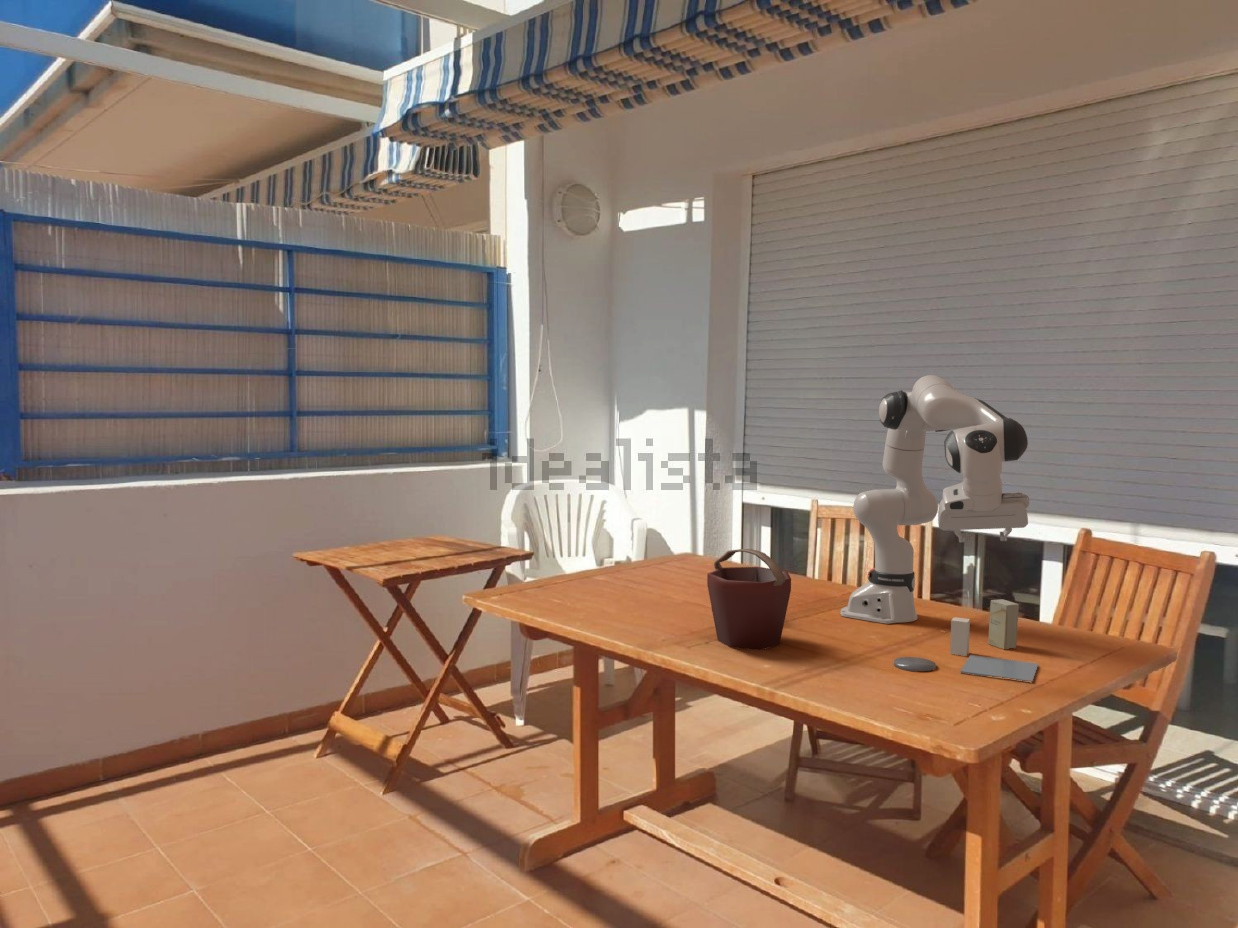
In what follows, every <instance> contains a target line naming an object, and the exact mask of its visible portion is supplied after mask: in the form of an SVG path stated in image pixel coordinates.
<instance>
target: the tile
mask: <svg viewBox="0 0 1238 928" xmlns="http://www.w3.org/2000/svg"><path fill="white" fill-rule="evenodd" d="M1037 667H1038V668H1039V663H1037V662H1028V661H1020V660H1015V659H1014V660H1013V659H1006V658H998V657H993V656H992V657H991V656H990V657H989V656H985V655H984V656H983V655H982V656H981V655H975V654H970V655H969V657H968V658H967V660H966V661H965V663H964V665H963V666H962V668H961V669H960V671H959V672H961V673H966V674H965V675H968V673H969V674H974V675H973V676H975V675H981V676H980V677H982V676H992V677H1002V678H1010V679H1016V680H1022V681H1031V682H1032V681H1033V682H1034V680H1033V679H1035V677H1036V674H1037V671H1038V668H1037ZM1036 670H1037V671H1036ZM961 673H960V674H961ZM1035 673H1036V674H1035ZM1034 676H1035V677H1034Z"/></svg>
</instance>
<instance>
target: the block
mask: <svg viewBox="0 0 1238 928" xmlns="http://www.w3.org/2000/svg"><path fill="white" fill-rule="evenodd" d="M970 624H971V618H964V617H956V616H955V617H954V616H953V617H952V619H951V621H950V650H949V653H950V654H955V655H954V656H958V655H961V656H960V657H965V656H966V657H968V655H969V653H970V630H971V627H970V626H971V625H970ZM950 654H949V655H950ZM967 654H968V655H967Z"/></svg>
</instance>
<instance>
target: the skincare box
mask: <svg viewBox="0 0 1238 928" xmlns="http://www.w3.org/2000/svg"><path fill="white" fill-rule="evenodd" d="M989 605H990V606H989V609H990V610H989V625H988V639H987V643H988V645H991V646H993V647H995V648H999V649H1001V648H1003V649H1002V650H1004V649H1005V650H1010V649H1009V648H1014V649H1017V642H1018V641H1017V640H1018V639H1017V638H1018V627H1019V626H1018V625H1019V609H1020V604H1019V603H1016V602H1013V601H1010V600H1006V599H1001V598H999V599H991V600H990V604H989Z"/></svg>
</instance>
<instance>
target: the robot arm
mask: <svg viewBox="0 0 1238 928" xmlns="http://www.w3.org/2000/svg"><path fill="white" fill-rule="evenodd" d="M878 416H879V421H880V423H881V425H882V426H883V427H884V428H886V429H887V432H886V433H887V434H886V438H885V441H884V442H885V444H884V451H883V458H882V469H883V471H884V472H885V474H886V475H887V476H889V477H890V478H892V479H894V480H895V481H896V487H895V488H881V489H880V488H879V489H878V488H877V489H876V488H875V489H872V490H866V491H862V492H860V493H858V495H856V497H855V499H854V502H853V514H854V516H855V518H856V520H857V521H858V522H859V523H860V524H861V525H863V527H864V528H866V529H867V530H868V531H867V532H868V533H869V534H870V536H871V538H872V540H873V547H874V559H875V560H874V564H875V565H874V567H872V568H871V569H870V570H869V571H868V572H867V579H868V580H867V581H866V582H865V583H863V584H862V585H860V587H857V589H855V590H854V591H853V592H852V593H850V596H849V598H848V603H847V605H846V606H844V607H842V608H841V609H840V616H841V617H843V618H844V617H845V618H850V619H855V620H856V619H857V620H863V621H868V622H874V623H881V624H889V625H890V624H897V623H910V622H914V621H917V620H918V614H917V611H916V605H915V597H914V596H915V594H914V591H915V588H916V587H915V586H916V577H915V576H916V575H915V572H914V559H915V558H914V553H915V550H914V546H913V545H912V543H911V542H910V541H909V540H907V539H906V538H903V537H901V536H900V535H899V532H898V531H899V530H898V526H918V525H922V524H926V523H929V522H930V523H931V522H932V521H933V520H934V519H935V518H936V517H937V518H938V519H937V523H938V528H939V529H940V530H942V532H943V531H953V533H954V534H955V536H956V537H958V543H966V533H965V532H961V531H962V530H963V531H965V530H966V531H968V530H972V531H973V530H993V529H994V530H995V529H996V530H998V529H1004V530H1003V531H999V540H1000V542H1007V541H1008V536H1009V535H1010V534H1011V532H1012V531H1013V529H1020V528H1021V529H1023V528H1026V527H1027V525H1029V518H1028V510H1027V508H1028V507H1029V506H1030V497H1029V496H1028V495H1027V494H1024V493H1023V492H1015V493H1011V492H1006V493H1003V482H1002V479H1001V474H1002V471H1003V464H1002V463H1003V462H1012V461H1018V460H1019V459H1020V458H1021V457H1022V456H1023V455H1024V453H1025V452H1026V450H1027V448H1028V445H1029V441H1028V436H1027V432H1026V430H1025V428H1024V426H1023V425H1022V424H1021V423H1019V422H1018V421H1017V420H1015V419H1013V418H1010V417H1007V416H1005V415H1003V414H1002V413H1001V412H1000V411H998V410H997V409H995V408H994V407H992V406H991V405H989V403H987V402H985V401H984V400H982V399H979V398H976V397H972V396H969V395H967V394H964V393H961V392H960V391H957V390H956V388H954V387H953V385H952V384H950V382H948V381H947V380H946V379H944V378H942V377H941V376H938V375H934V374H929V375H924V376H922V377H920V378H918V380H916V381H915V383H914V385H913V386H912V390H911V391H903V390H902V389H901V390H898V391H893V392H890V393H886V395H884V396H883V397H882V399H881V400H880V404H879V407H878ZM933 431H934V432H938V433H939V432H945V431H946V432H947V431H950V432H949V433H948V434H947V436H946V437H945V439H944V457H945V460H946V463H947V466H949V467H950V468H951V469H953V470H954V471H956V472H957V473H959V474H961V475H962V481H961V482H960V483H957V484H953V485H950V486H947V487H945V488H943V490H942V499H941V500H940V503H938V500H937V498H936V496H935V494H934V493H933V492H932V491H930V490H929V489H928V487H927V486H926V484H925V482H924V479H923V473H922V472H923V470H922V469H923V458H924V451H925V447H926V446H925V445H926V434H927V432H933Z"/></svg>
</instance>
